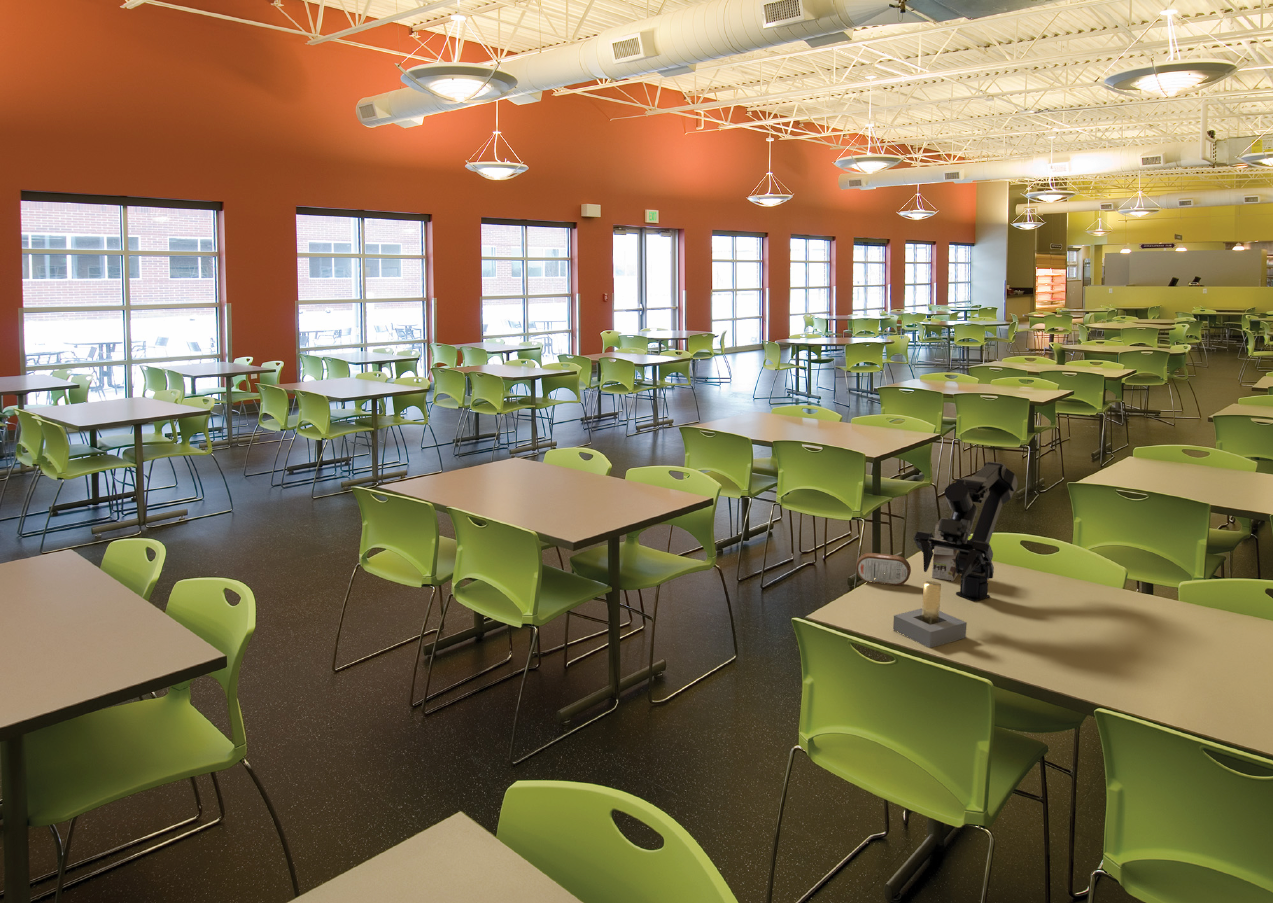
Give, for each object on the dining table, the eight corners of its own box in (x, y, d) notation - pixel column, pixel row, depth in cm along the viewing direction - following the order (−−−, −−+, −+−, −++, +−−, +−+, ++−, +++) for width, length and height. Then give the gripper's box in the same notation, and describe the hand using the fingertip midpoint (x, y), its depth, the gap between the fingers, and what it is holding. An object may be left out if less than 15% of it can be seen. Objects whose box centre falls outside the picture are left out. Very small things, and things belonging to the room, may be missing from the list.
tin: (910, 584, 259) (911, 555, 257) (909, 587, 256) (911, 559, 254) (855, 578, 264) (857, 550, 262) (854, 582, 261) (856, 554, 259)
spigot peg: (918, 630, 226) (921, 581, 223) (935, 630, 226) (938, 581, 223) (923, 637, 222) (926, 586, 220) (939, 637, 222) (943, 586, 219)
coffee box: (954, 581, 261) (957, 527, 258) (931, 577, 264) (934, 524, 261) (960, 572, 269) (964, 519, 265) (938, 568, 272) (941, 516, 268)
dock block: (893, 630, 226) (893, 615, 226) (928, 621, 232) (929, 606, 231) (929, 647, 216) (930, 632, 215) (965, 637, 222) (966, 622, 221)
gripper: (918, 499, 233) (899, 552, 227) (992, 511, 222) (974, 566, 216) (927, 522, 241) (909, 573, 235) (1000, 534, 230) (983, 588, 224)
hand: (942, 575), depth 227 cm, fingers open, 9 cm apart
